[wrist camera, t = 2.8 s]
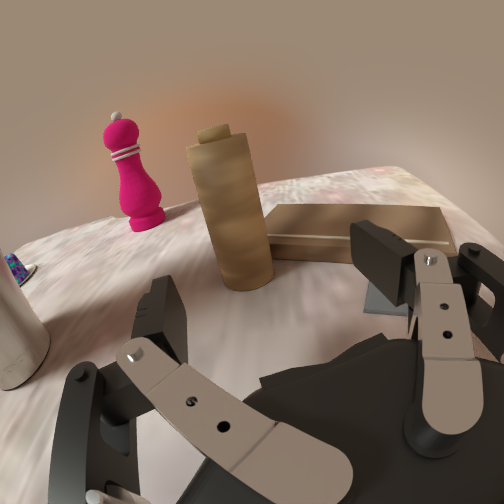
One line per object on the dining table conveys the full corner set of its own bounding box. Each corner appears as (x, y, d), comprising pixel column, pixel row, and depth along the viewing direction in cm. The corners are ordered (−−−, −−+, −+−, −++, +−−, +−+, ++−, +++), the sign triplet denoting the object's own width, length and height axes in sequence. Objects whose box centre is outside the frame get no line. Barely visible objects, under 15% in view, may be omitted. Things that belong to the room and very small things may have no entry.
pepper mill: (166, 211, 49) (137, 107, 40) (170, 222, 43) (135, 101, 33) (130, 224, 47) (98, 121, 38) (128, 238, 41) (90, 118, 32)
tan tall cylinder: (214, 287, 24) (169, 139, 18) (238, 259, 28) (205, 128, 22) (261, 294, 22) (221, 126, 16) (281, 263, 26) (253, 118, 20)
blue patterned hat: (10, 301, 31) (-5, 274, 29) (-14, 303, 33) (-27, 280, 31) (47, 263, 42) (35, 239, 39) (18, 270, 44) (8, 249, 41)
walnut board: (244, 256, 28) (240, 241, 27) (279, 215, 36) (277, 203, 35) (453, 269, 19) (456, 252, 18) (438, 220, 26) (439, 206, 25)
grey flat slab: (363, 312, 18) (363, 309, 18) (372, 264, 22) (372, 261, 22) (457, 318, 14) (458, 315, 14) (448, 269, 19) (448, 266, 19)
